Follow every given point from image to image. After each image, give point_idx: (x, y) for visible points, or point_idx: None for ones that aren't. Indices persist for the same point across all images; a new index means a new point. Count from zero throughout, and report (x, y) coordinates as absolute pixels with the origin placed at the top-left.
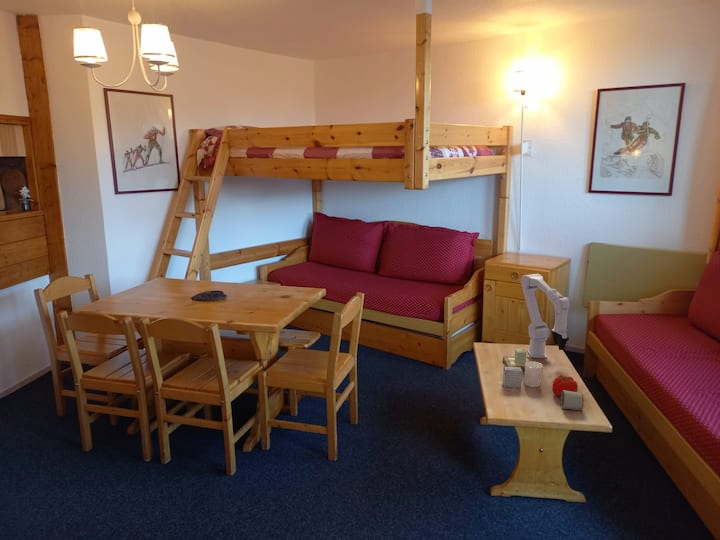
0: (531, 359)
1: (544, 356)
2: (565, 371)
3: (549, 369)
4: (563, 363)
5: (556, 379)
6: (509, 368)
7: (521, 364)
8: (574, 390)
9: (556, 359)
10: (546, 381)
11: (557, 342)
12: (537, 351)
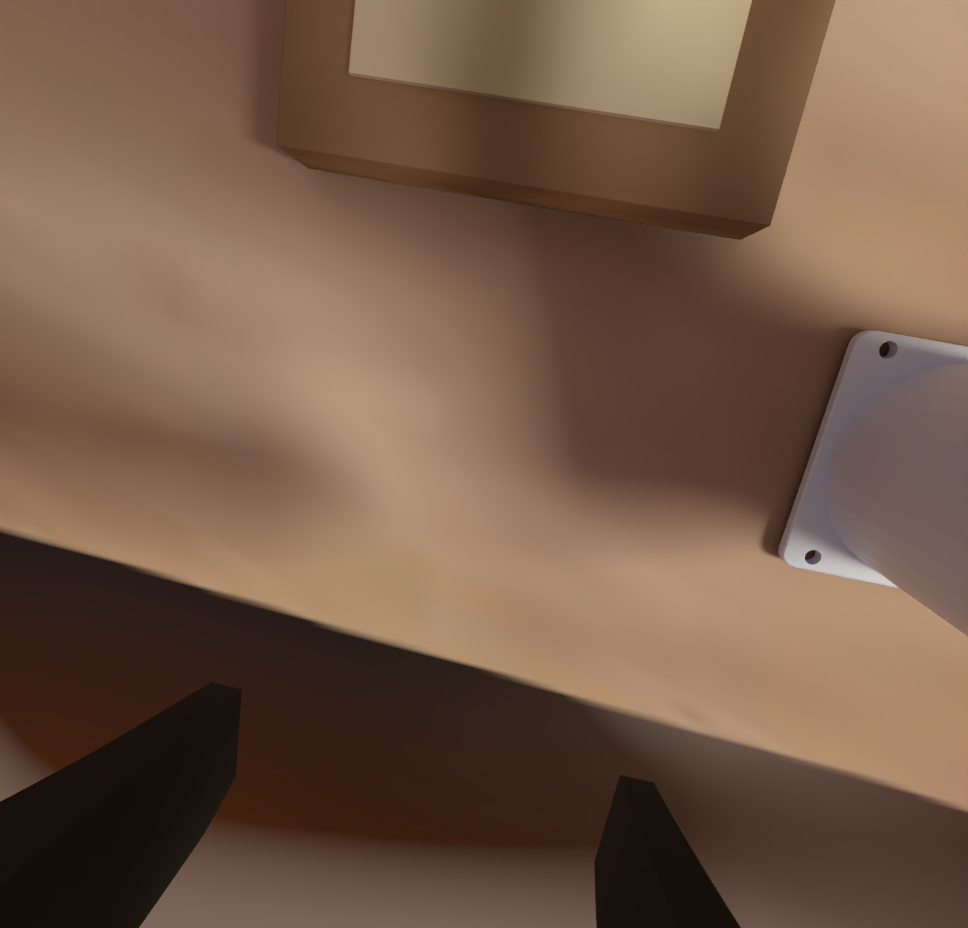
0: (650, 198)
1: (819, 539)
2: (316, 570)
3: (390, 399)
4: (556, 672)
5: None
6: None
7: None
8: None
9: (701, 657)
10: (17, 169)
11: (609, 895)
12: (910, 441)
